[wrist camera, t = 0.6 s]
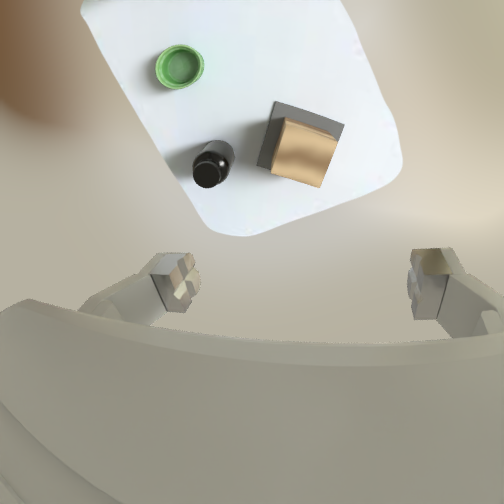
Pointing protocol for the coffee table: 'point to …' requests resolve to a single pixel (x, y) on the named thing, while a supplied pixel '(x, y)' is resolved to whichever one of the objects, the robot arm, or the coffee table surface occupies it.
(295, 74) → the coffee table surface
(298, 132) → the tower top
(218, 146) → the supplement bottle
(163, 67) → the ramekin
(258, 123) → the coffee table surface
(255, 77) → the coffee table surface
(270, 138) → the mat
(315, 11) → the coffee table surface
